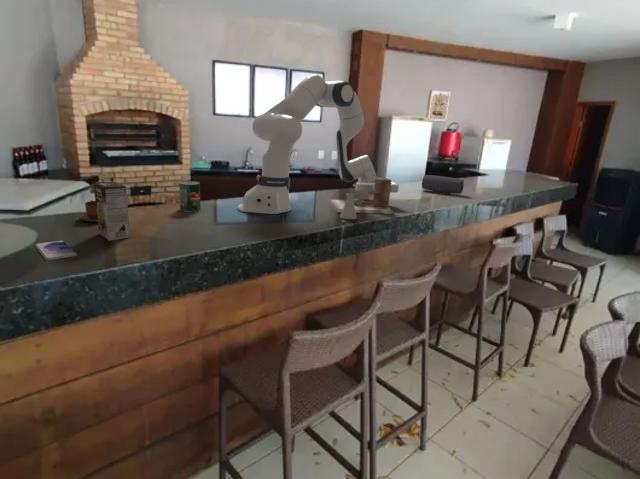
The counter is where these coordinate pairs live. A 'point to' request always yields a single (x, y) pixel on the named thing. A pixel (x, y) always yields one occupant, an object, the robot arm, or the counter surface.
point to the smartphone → (55, 250)
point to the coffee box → (112, 210)
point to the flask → (349, 208)
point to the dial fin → (378, 194)
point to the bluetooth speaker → (442, 184)
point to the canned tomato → (189, 196)
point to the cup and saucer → (90, 212)
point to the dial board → (361, 207)
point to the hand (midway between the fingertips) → (381, 190)
